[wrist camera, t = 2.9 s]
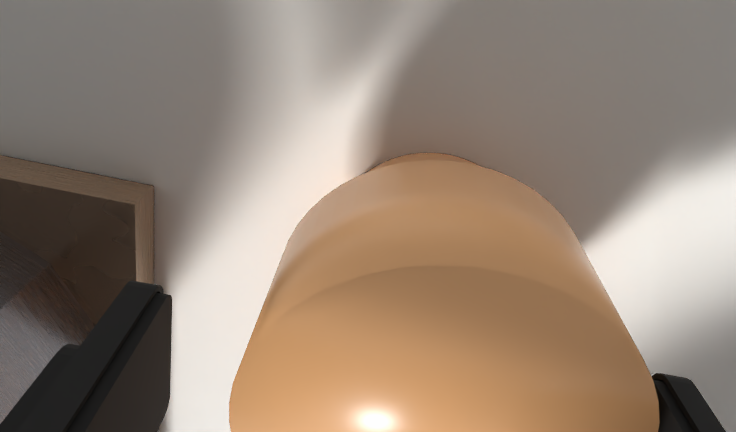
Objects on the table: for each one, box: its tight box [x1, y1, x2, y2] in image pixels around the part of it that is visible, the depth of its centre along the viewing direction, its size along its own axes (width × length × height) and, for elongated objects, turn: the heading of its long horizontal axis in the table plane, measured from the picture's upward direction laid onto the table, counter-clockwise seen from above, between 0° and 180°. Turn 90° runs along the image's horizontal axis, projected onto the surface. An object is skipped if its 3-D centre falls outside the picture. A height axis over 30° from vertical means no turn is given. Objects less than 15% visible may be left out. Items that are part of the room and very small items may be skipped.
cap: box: [229, 153, 659, 432], centre depth 13 cm, size 7×7×7 cm
